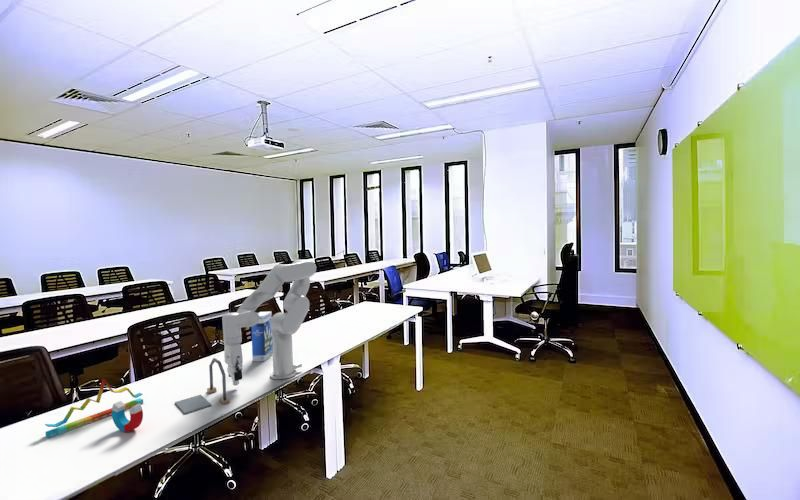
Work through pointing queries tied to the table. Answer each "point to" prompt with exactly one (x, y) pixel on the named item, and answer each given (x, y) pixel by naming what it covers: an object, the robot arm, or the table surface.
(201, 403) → the mat
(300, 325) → the robot arm
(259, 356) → the string lights box
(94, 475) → the table surface
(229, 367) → the lightbulb
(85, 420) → the chart
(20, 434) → the table surface
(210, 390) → the wire arch
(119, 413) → the magnet
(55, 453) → the table surface
